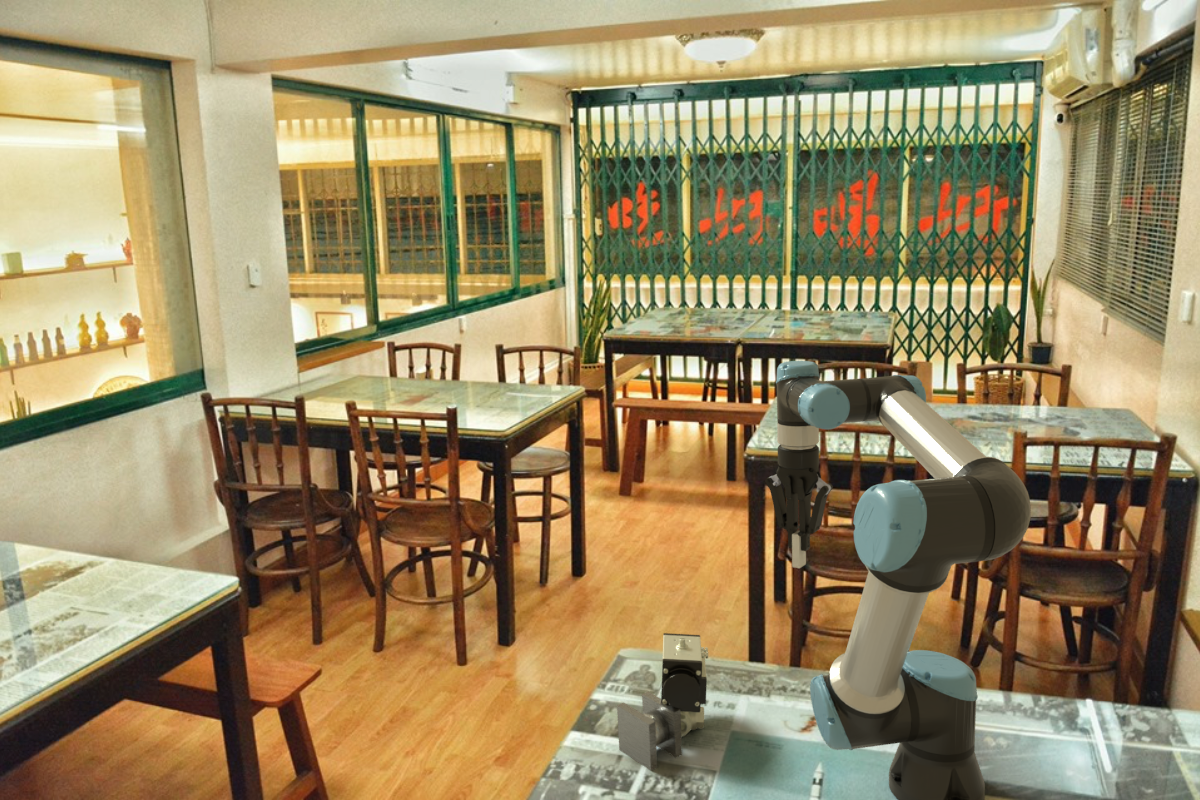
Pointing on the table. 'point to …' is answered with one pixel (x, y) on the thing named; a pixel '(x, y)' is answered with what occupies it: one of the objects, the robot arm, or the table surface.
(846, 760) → the table surface
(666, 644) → the ball valve
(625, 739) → the flanged fitting
